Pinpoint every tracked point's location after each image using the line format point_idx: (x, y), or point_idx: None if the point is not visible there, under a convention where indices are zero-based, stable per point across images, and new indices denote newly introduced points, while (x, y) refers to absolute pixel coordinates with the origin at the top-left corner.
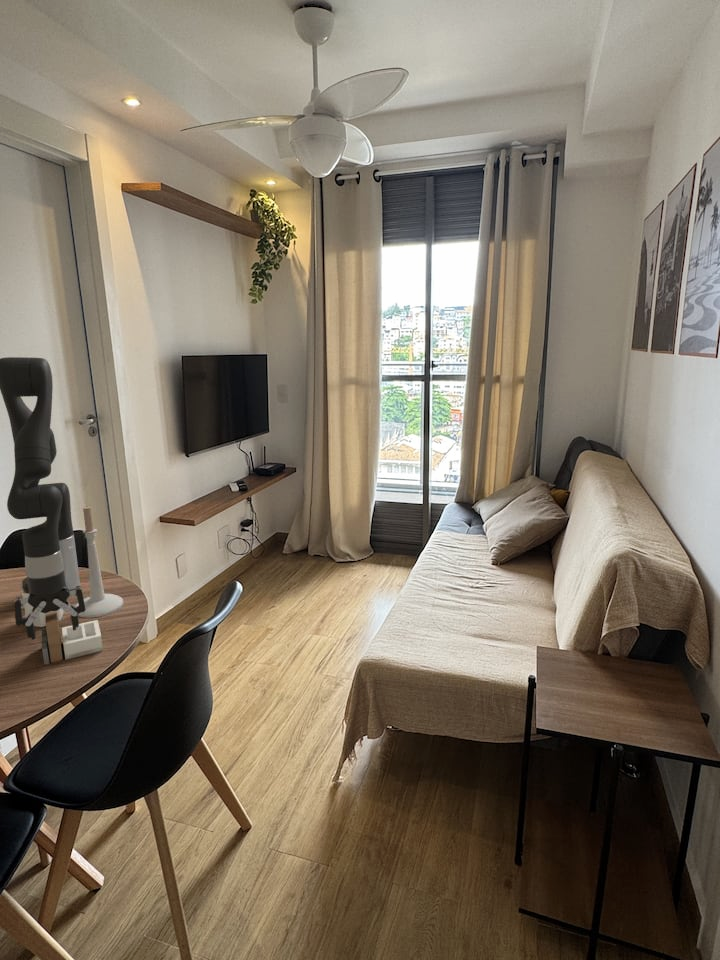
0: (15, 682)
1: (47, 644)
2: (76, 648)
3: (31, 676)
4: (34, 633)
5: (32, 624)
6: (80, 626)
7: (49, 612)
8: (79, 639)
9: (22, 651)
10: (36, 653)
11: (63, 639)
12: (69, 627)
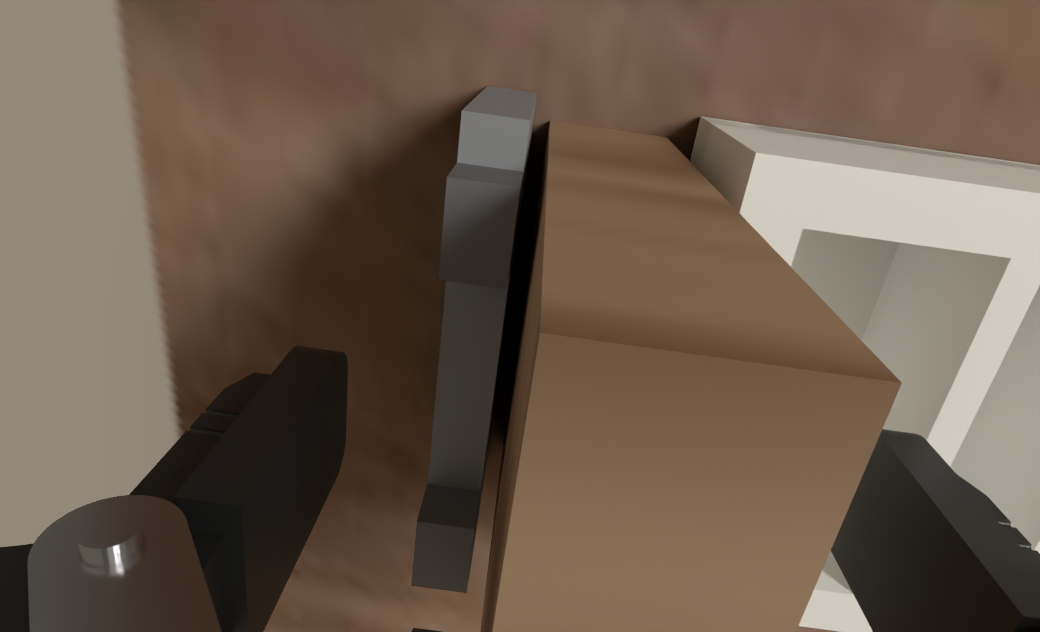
0: None
1: (494, 392)
2: None
3: (346, 546)
4: (318, 479)
5: (236, 613)
6: (987, 246)
7: (610, 600)
8: (808, 604)
9: (262, 38)
10: (401, 192)
11: None
12: (847, 218)
